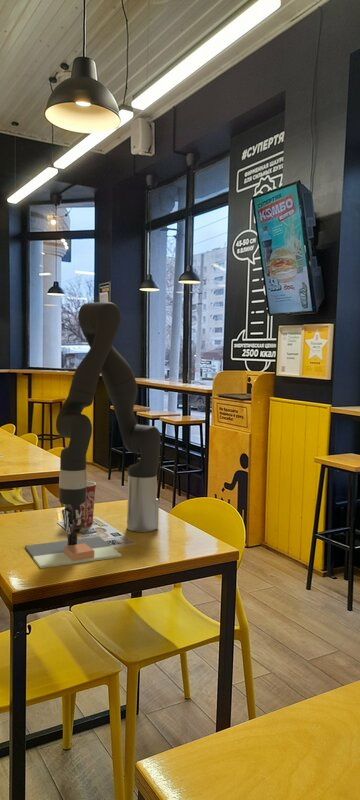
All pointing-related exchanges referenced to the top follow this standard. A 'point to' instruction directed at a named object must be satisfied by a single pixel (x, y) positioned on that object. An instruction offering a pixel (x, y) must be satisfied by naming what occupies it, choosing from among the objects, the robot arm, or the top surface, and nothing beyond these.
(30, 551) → the mat
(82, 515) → the mug
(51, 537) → the top surface
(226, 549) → the top surface
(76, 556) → the tile
